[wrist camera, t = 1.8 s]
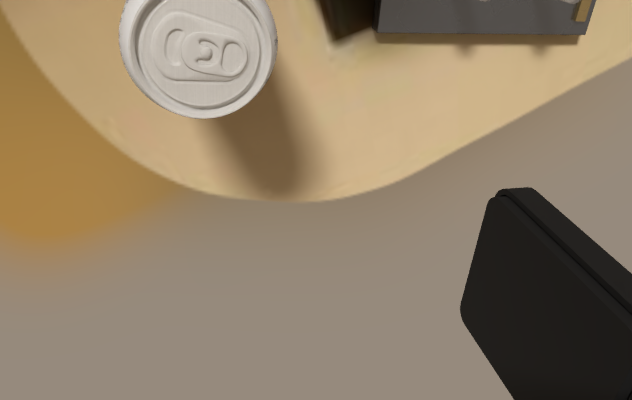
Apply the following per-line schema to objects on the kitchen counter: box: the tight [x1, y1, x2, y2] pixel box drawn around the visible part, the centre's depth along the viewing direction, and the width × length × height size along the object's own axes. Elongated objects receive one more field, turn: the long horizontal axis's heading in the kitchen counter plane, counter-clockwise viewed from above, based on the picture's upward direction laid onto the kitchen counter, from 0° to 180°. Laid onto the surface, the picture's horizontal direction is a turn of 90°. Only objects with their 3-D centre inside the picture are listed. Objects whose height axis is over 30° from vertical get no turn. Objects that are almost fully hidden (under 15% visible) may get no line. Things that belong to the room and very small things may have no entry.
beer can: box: [119, 0, 278, 119], centre depth 27 cm, size 6×6×15 cm
